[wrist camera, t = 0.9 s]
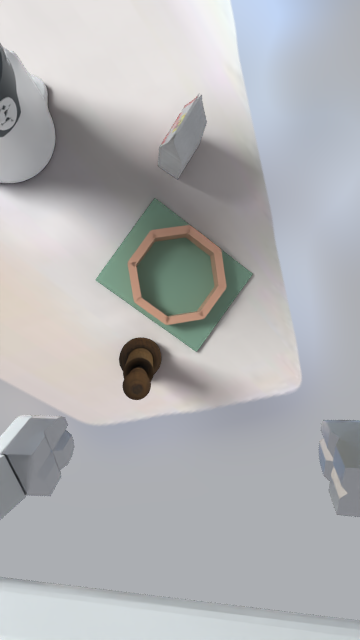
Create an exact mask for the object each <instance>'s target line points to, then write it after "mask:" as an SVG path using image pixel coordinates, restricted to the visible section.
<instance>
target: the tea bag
mask: <svg viewBox="0 0 360 640" xmlns="http://www.w3.org/2000/svg"><path fill="white" fill-rule="evenodd" d="M198 96H199V94H198ZM198 96H197V97H196V98H195V99H194V100H193V101H191V102H190V103H188V104H187V105H185V106H184V108H183V110H182V111H181V113H180V115H179V116H178V118H177V119H176V121H175V123H174V124H173V126H172V128H171V129H170V131H169V132H168V134H167V136H166V137H165V139H164V141H163V142H162V144H161V145H160V147H159V160H158V166H159V167H160V168H161V169H163V170H164V171H166V172H167V173H169V174H170V175H172V176H173V177H175V178H176V179H178V178H179V177H180V175H181V173H182V172H183V170H184V168H185V167H186V165H187V164H188V162H189V160H190V159H191V157H192V155H193V154H194V152H195V151H196V149H197V147H198V146H199V144H200V141H201V138H202V135H203V132H204V129H205V126H206V123H207V120H206V116H205V112H204V108H203V103H202V95H201V96H200V97H199V98H198Z"/></svg>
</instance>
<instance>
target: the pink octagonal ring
mask: <svg viewBox="0 0 360 640" xmlns="http://www.w3.org/2000/svg"><path fill="white" fill-rule="evenodd" d="M185 237H186V238H187V239H188V240H190V241H191V242H192V243H193V244H195V245H196V246H197V247H199V248H200V249H201V250H203V251H204V252H205V253H206V254H208V255H209V256H210V260H211V266H212V273H213V280H214V288H213V289H212V291H211V292H210V293H209V295H208V296H207V297H206V299H205V300H204V302H203V303H202V304H201V306H200V307H199V309H198V310H197V311H194V312H188V313H181V314H175V315H169V316H166V315H165V314H164V313H162V312H161V311H159V310H158V309H157V308H155V307H154V306H153V305H151V304H150V303H148V302H147V301H146V300H144V299H143V298H142V295H141V289H140V283H139V277H138V271H137V266H138V265H139V263H140V262H141V260H142V259H143V258H144V256H145V255H146V253H147V252H148V251H149V249H150V248H151V247H152V245H153V244H154V242H156V241H164V240H171V239H178V238H185ZM220 249H221V248H219V247H218V246H217V245H215V244H214V243H213V242H212V241H210V240H209V239H208V238H206V237H205V236H204V235H203V234H201V233H200V232H199V231H197V230H196V229H195V228H194V227H192V226H191V225H185V226H178V227H170V228H163V229H155V230H151V231H150V232H149V233H148V235H147V236H146V237H145V239H144V240H143V242H142V243H141V244H140V246H139V247H138V249H137V250H136V251H135V253H134V254H133V255H132V257H131V258H130V260H129V261H128V269H129V275H130V281H131V287H132V293H133V299H134V302H135V303H136V304H137V305H139V306H140V307H141V308H143V309H144V310H146V311H147V312H148V313H150V314H151V315H153V316H154V317H155V318H157V319H158V320H160V321H161V322H162V323H164V324H165V325H170V324H176V323H182V322H188V321H194V320H200V319H204V318H205V317H206V316H207V314H208V313H209V311H210V310H211V309H212V307H213V306H214V305H215V303H216V302H217V300H218V299H219V298H220V296H221V295H222V293H223V292H224V291H225V289H226V287H227V286H226V279H225V272H224V265H223V258H222V251H221V250H220Z"/></svg>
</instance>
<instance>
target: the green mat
mask: <svg viewBox="0 0 360 640" xmlns="http://www.w3.org/2000/svg"><path fill="white" fill-rule="evenodd" d="M185 225H189V224H188V223H187V222H185V221H184V220H183V219H181V218H180V217H179V216H178V215H176V214H175V213H174V212H172V211H171V210H170V209H168V208H167V207H166V206H165V205H163V204H162V203H161V202H159V201H158V200H157V199H156V198H154V200H153V201H152V202H151V204H150V205H149V207H148V208H147V209H146V211H145V212H144V214H143V215H142V216H141V218H140V219H139V220H138V222H137V223H136V225H135V226H134V227H133V229H132V230H131V231H130V233H129V234H128V236H127V237H126V238H125V240H124V241H123V242H122V244H121V245H120V247H119V248H118V249H117V251H116V252H115V254H114V255H113V256H112V258H111V259H110V260H109V262H108V263H107V265H106V266H105V267H104V269H103V270H102V271H101V273H100V274H99V276H98V277H97V278H96V281H98V282H99V283H100V284H102V285H103V286H105V287H106V288H107V289H109V290H110V291H112V292H113V293H114V294H116V295H117V296H119V297H120V298H121V299H123V300H124V301H126V302H127V303H128V304H130V305H131V306H133V307H134V308H135V309H137V310H138V311H140V312H141V313H142V314H144V315H145V316H147V317H148V318H149V319H151V320H152V321H154V322H155V323H156V324H158V325H159V326H161V327H162V328H164V329H165V330H166V331H168V332H169V333H171V334H172V335H173V336H175V337H176V338H178V339H179V340H180V341H182V342H183V343H185V344H186V345H187V346H189V347H190V348H192V349H193V350H194V351H196V352H197V351H198V349H199V348H200V347H201V345H202V344H203V342H204V341H205V340H206V338H207V337H208V335H209V334H210V333H211V331H212V330H213V329H214V327H215V326H216V324H217V323H218V322H219V320H220V319H221V317H222V316H223V315H224V313H225V312H226V310H227V309H228V308H229V306H230V305H231V304H232V302H233V301H234V299H235V298H236V297H237V295H238V294H239V292H240V291H241V290H242V288H243V287H244V285H245V284H246V283H247V281H248V280H249V279H250V277H251V276H252V273H251V272H250V271H248V270H247V269H246V268H244V267H243V266H242V265H241V264H239V263H238V262H237V261H235V260H234V259H233V258H232V257H230V256H229V255H228V254H226V253H225V252H224V251H223V250H221V249H220V250H221V251H222V258H223V265H224V272H225V279H226V286H227V287H226V289H225V291H224V292H223V293H222V295H221V296H220V298H219V299H218V300H217V302H216V303H215V305H214V306H213V307H212V309H211V310H210V311H209V313H208V314H207V316H206V317H205V318H204V319H200V320H194V321H188V322H182V323H176V324H170V325H165V324H164V323H162V322H161V321H160V320H158V319H157V318H155V317H154V316H153V315H151V314H150V313H148V312H147V311H146V310H144V309H143V308H141V307H140V306H139V305H137V304H136V303H135V302H134V299H133V293H132V287H131V281H130V275H129V269H128V261H129V260H130V258H131V257H132V255H133V254H134V253H135V251H136V250H137V249H138V247H139V246H140V244H141V243H142V242H143V240H144V239H145V237H146V236H147V235H148V233H149V232H150V231H151V230H155V229H163V228H170V227H178V226H185ZM137 271H138V277H139V283H140V289H141V295H142V298H143V299H144V300H146V301H147V302H148V303H150V304H151V305H153V306H154V307H155V308H157V309H158V310H159V311H161V312H162V313H164V314H165V315H166V316H169V315H175V314H181V313H188V312H194V311H197V310H198V309H199V307H200V306H201V304H202V303H203V302H204V300H205V299H206V297H207V296H208V295H209V293H210V292H211V291H212V289H213V288H214V280H213V273H212V266H211V260H210V256H209V255H208V254H206V253H205V252H204V251H203V250H201V249H200V248H199V247H197V246H196V245H195V244H193V243H192V242H191V241H190V240H188V239H187V238H186V237H185V238H178V239H171V240H164V241H156V242H154V244H153V245H152V247H151V248H150V249H149V251H148V252H147V253H146V255H145V256H144V258H143V259H142V260H141V262H140V263H139V265H138V266H137Z"/></svg>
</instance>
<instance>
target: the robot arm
mask: <svg viewBox="0 0 360 640" xmlns="http://www.w3.org/2000/svg"><path fill="white" fill-rule="evenodd" d="M47 104H48V92H47V88H46V86H45V84H44V82H43V81H42V80H41V79H40V78H38V77H36V76H34V75H32V74H30V73H29V72H28V71H27V70H26V68H25V67H24V65H23V64H22V62H21V60H20V59H19V57H18V56H17V55H16V54H15V53H14V52H13V51H8V50H7V49H5V48H3V47H2V45H1V43H0V183H17V182H22V181H25V180H28V179H30V178H32V177H34V176H35V175H37V174H38V173H39V172H40V171H41V170H42V169H43V168H44V167H45V166H46V165H47V163H48V162H49V160H50V158H51V156H52V154H53V151H54V147H55V128H54V123H53V120H52V118H51V115H50V113H49V110H48V106H47ZM67 426H68V424H67V421H66V419H65V417H61V416H39V415H35V416H32V415H31V416H30V415H21V416H19V417H17V418H16V419H15V421H14V422H13V423H12V424H11V425H10V426H9V427H8V429H7V430H6V431H5V432H4V433H3V434H2V435H1V437H0V520H1V519H2V518H3V517H4V516H5V515H6V514H7V513H9V512H10V511H11V510H12V509H13V508H14V507H15V506H16V505H17V504H18V503H20V502H21V501H22V500H23V499H24V498H25V497H26V496H25V495H31V496H51V494H52V493H53V491H54V489H55V487H56V485H57V483H58V482H59V480H60V478H61V472H60V470H61V469H62V468H64V467H65V466H66V465H68V463H69V461H70V459H71V457H72V454H73V450H74V440H73V437H72V435H71V434H70V433H69V432H68V431H66V428H67ZM321 432H322V435H323V439H322V440H320V441H319V460H320V465H321V469H322V472H323V475H324V476H325V477H326V478H327V479H328V480H329V481H330V485H329V493H330V496H331V499H332V502H333V505H334V508H335V511H336V514H337V515H343V516H354V517H360V421H359V420H323V422H322V424H321ZM0 640H360V620H352V619H344V618H335V617H327V616H319V615H311V614H302V613H293V612H286V611H278V610H270V609H261V608H253V607H245V606H236V605H228V604H220V603H212V602H203V601H195V600H186V599H179V598H170V597H162V596H154V595H146V594H137V593H129V592H120V591H112V590H104V589H96V588H88V587H80V586H71V585H62V584H54V583H46V582H38V581H30V580H21V579H13V578H5V577H0Z"/></svg>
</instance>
